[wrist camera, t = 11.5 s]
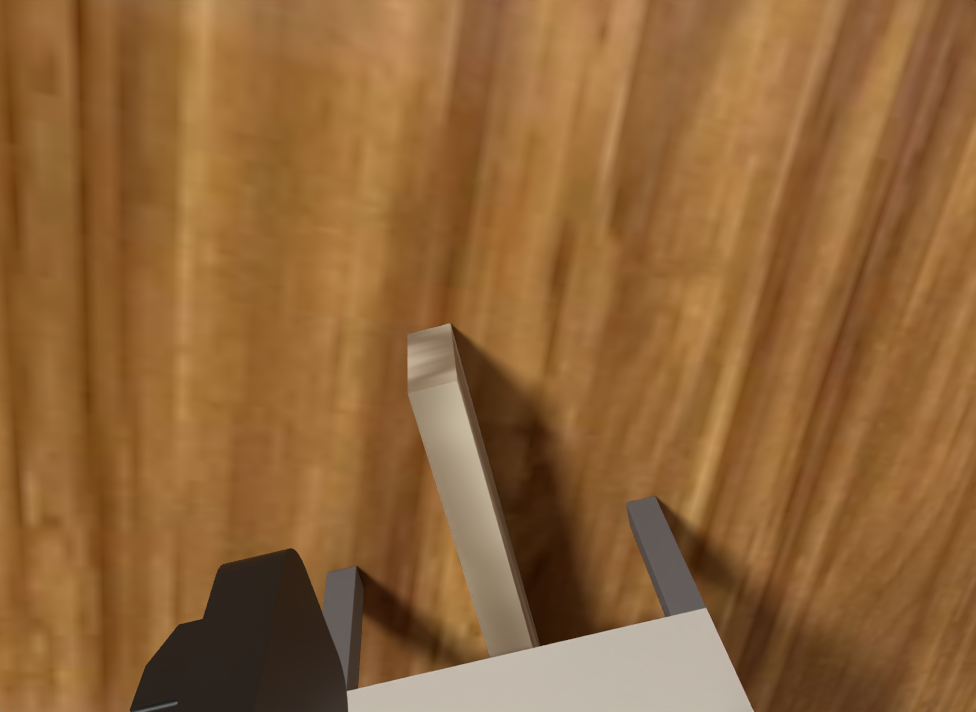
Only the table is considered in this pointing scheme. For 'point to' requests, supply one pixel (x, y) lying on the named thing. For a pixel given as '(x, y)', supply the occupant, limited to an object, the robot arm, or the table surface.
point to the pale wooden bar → (468, 490)
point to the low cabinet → (568, 654)
